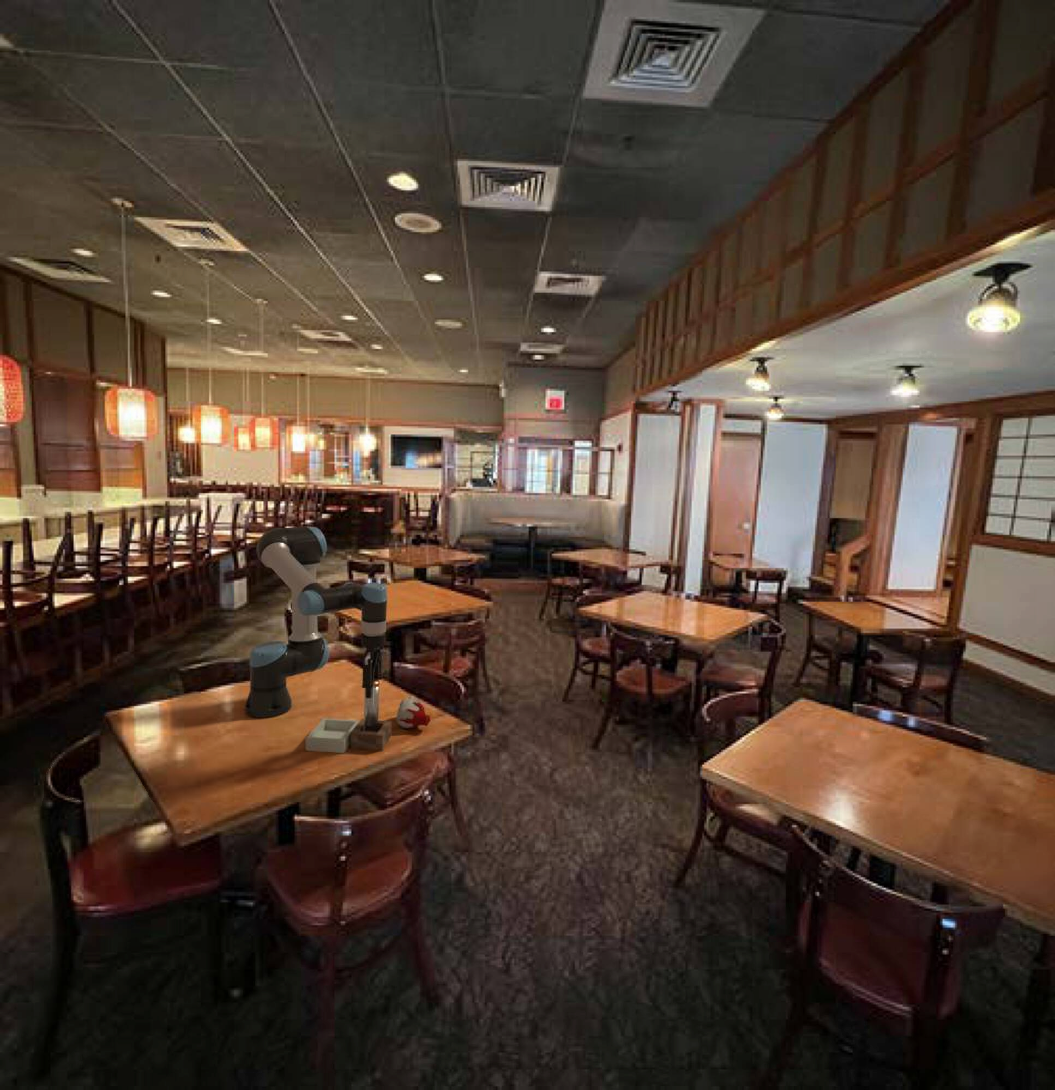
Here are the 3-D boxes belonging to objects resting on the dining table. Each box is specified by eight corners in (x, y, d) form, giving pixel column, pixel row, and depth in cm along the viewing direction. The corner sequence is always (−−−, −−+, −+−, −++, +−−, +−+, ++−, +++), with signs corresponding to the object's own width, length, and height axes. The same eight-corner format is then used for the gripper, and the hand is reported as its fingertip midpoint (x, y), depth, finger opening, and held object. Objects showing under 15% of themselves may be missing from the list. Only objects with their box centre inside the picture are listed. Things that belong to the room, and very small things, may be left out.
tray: (324, 729, 184) (324, 718, 184) (359, 731, 184) (359, 720, 183) (305, 750, 170) (305, 738, 170) (344, 753, 170) (344, 740, 169)
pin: (366, 719, 179) (367, 678, 177) (380, 720, 179) (381, 679, 177) (362, 725, 175) (363, 683, 173) (375, 726, 175) (376, 684, 173)
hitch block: (361, 733, 183) (361, 719, 182) (391, 735, 182) (391, 721, 182) (350, 748, 173) (350, 733, 172) (382, 750, 173) (382, 735, 172)
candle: (403, 712, 198) (438, 727, 193) (383, 724, 188) (418, 740, 182) (407, 689, 197) (441, 704, 191) (386, 700, 187) (422, 716, 181)
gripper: (370, 623, 182) (368, 691, 185) (351, 640, 164) (350, 714, 168) (393, 625, 181) (391, 692, 185) (376, 642, 164) (374, 716, 167)
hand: (371, 702), depth 176 cm, fingers closed on pin, 4 cm apart
